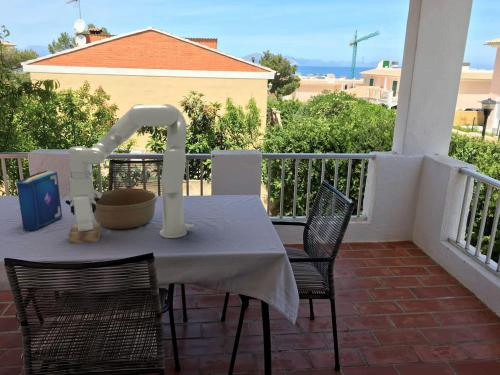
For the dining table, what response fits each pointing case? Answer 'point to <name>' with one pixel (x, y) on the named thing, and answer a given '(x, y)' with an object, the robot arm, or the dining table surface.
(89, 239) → the tan flat block
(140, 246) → the dining table surface
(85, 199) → the skincare box
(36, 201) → the book
